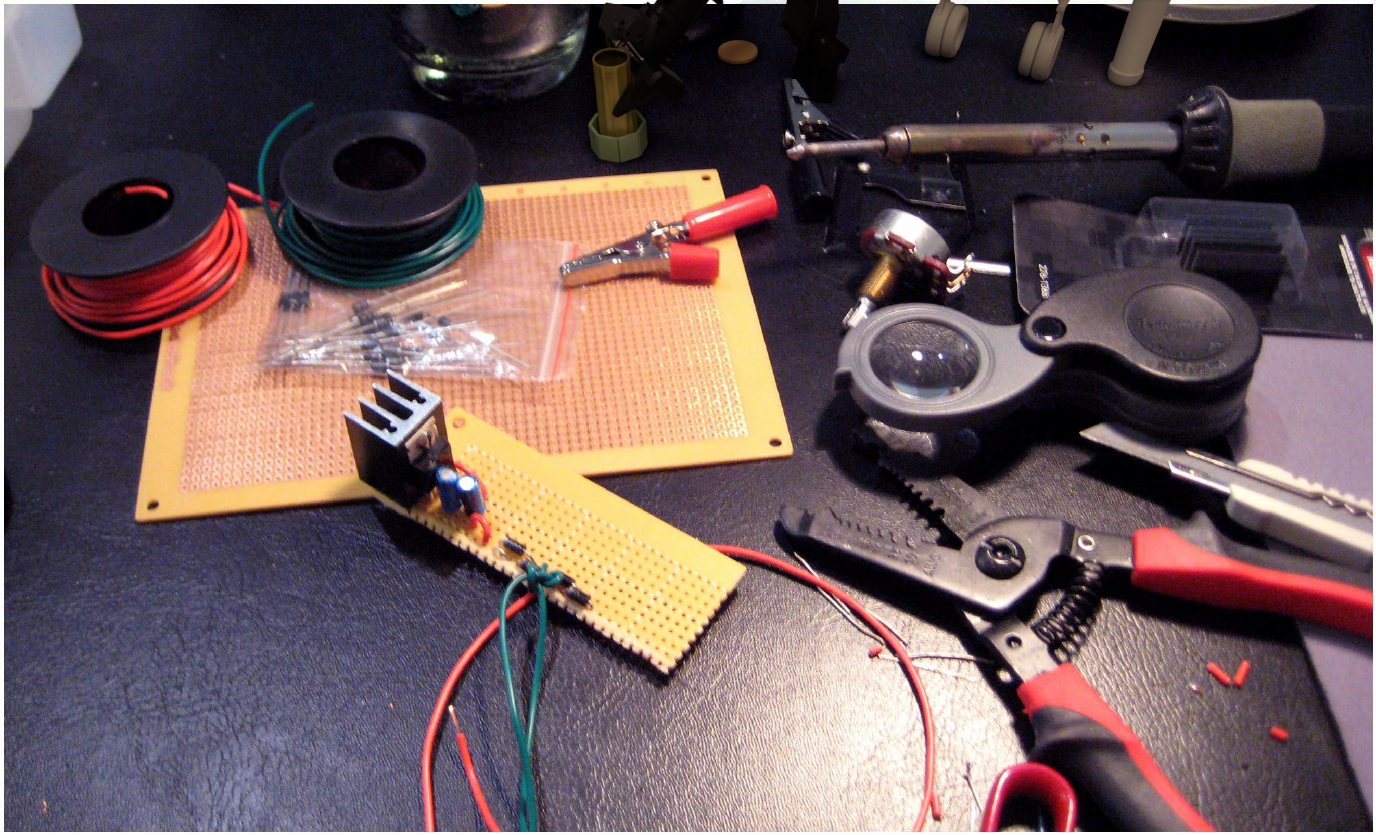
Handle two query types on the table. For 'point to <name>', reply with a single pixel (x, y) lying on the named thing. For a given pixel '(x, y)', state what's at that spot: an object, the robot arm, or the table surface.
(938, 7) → the headphones
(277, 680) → the table surface
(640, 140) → the ring
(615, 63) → the vase
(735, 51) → the coaster
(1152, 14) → the bottle
